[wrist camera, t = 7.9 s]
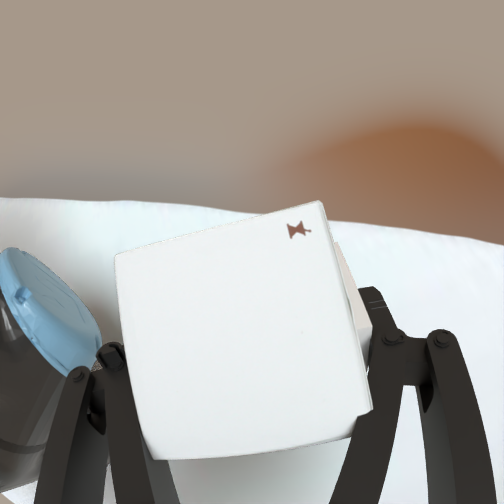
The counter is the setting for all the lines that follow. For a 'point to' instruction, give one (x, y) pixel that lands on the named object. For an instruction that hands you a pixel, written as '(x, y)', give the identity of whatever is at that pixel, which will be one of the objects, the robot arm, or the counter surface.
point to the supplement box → (242, 338)
